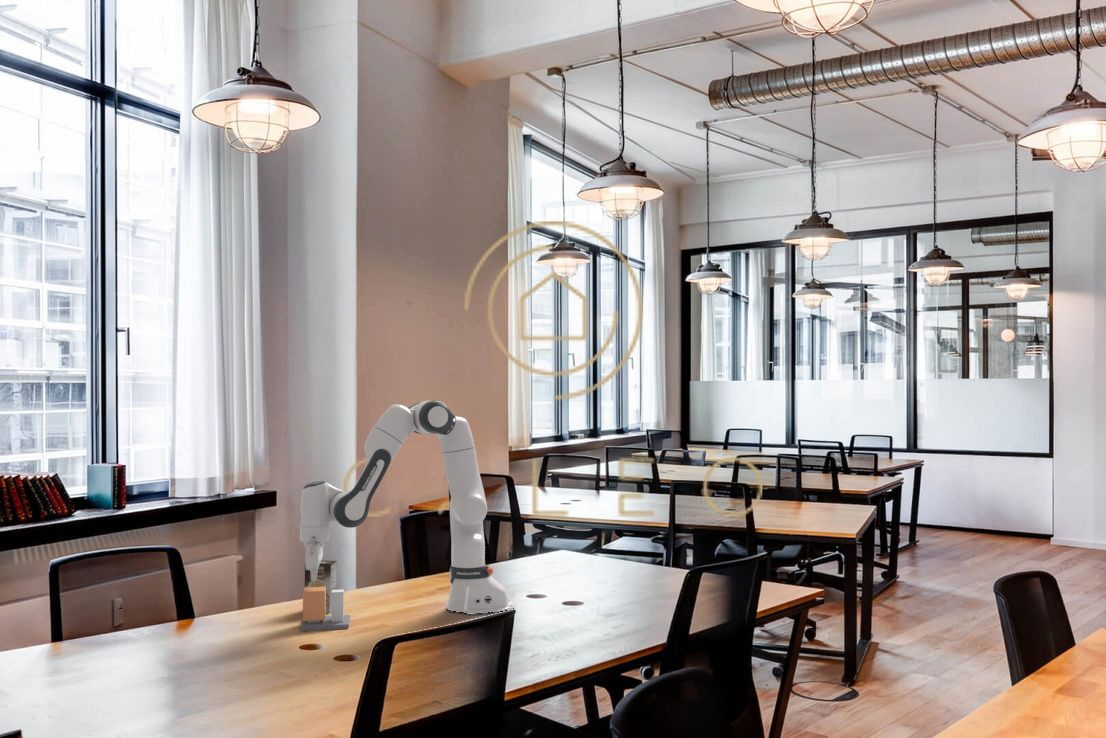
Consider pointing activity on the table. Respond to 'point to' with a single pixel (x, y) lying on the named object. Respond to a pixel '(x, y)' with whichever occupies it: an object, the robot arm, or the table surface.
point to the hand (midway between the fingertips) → (314, 579)
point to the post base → (336, 618)
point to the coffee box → (324, 579)
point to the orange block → (314, 603)
